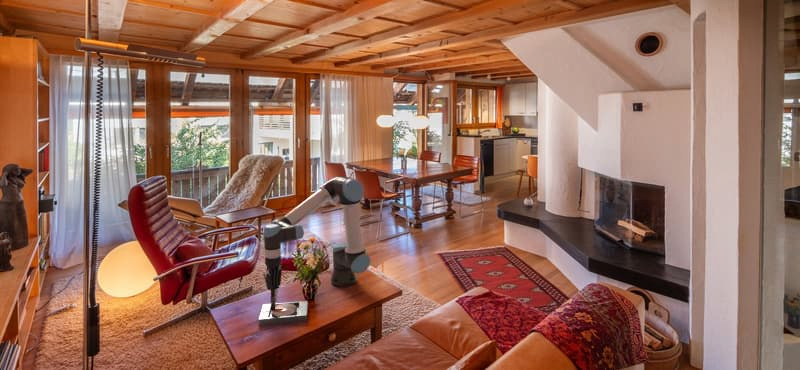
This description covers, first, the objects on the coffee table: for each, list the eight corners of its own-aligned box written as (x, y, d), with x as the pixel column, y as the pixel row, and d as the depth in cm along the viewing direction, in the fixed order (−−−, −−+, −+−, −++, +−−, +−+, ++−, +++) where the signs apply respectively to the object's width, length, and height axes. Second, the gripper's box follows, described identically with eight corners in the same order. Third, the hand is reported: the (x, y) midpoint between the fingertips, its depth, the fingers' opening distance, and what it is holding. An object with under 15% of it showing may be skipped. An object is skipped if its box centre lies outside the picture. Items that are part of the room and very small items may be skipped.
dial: (298, 306, 211) (297, 290, 210) (295, 317, 199) (294, 300, 198) (273, 307, 210) (272, 291, 208) (269, 319, 198) (268, 301, 197)
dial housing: (307, 307, 215) (307, 300, 214) (306, 321, 199) (306, 314, 199) (263, 310, 211) (263, 303, 210) (258, 326, 195) (258, 318, 195)
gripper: (274, 250, 209) (276, 294, 213) (257, 259, 197) (259, 305, 202) (287, 253, 206) (288, 297, 211) (271, 261, 195) (272, 308, 199)
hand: (274, 301), depth 206 cm, fingers closed
